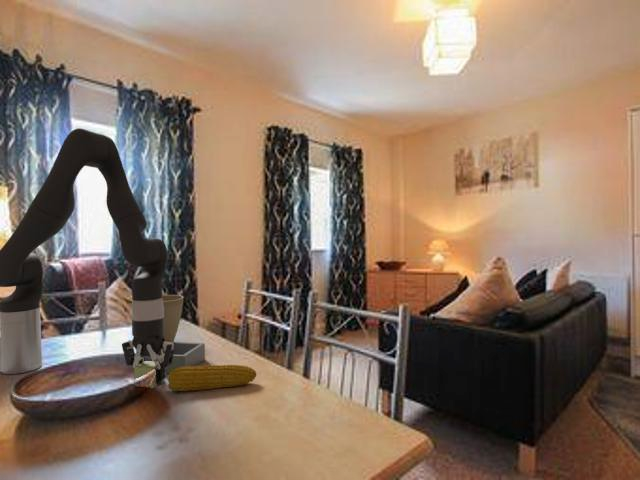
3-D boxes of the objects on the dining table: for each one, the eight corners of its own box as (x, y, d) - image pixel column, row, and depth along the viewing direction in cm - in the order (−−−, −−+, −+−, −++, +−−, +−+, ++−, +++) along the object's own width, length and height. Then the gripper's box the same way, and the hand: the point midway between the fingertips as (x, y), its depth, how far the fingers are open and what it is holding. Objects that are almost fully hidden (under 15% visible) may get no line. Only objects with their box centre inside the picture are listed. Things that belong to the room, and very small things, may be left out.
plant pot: (193, 341, 137) (192, 296, 137) (155, 353, 125) (154, 303, 124) (166, 335, 145) (165, 293, 145) (128, 346, 133) (127, 299, 132)
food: (167, 397, 93) (166, 372, 93) (170, 387, 98) (170, 364, 98) (257, 387, 98) (257, 363, 98) (255, 378, 103) (255, 356, 103)
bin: (144, 372, 109) (144, 354, 109) (168, 357, 121) (167, 341, 120) (185, 374, 107) (184, 356, 107) (204, 359, 119) (204, 343, 118)
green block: (134, 386, 99) (134, 367, 99) (146, 379, 104) (146, 360, 104) (153, 388, 98) (152, 368, 98) (164, 380, 103) (163, 361, 103)
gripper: (112, 319, 98) (114, 386, 98) (165, 320, 95) (167, 389, 96) (131, 312, 105) (133, 375, 106) (181, 313, 103) (183, 377, 103)
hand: (149, 381), depth 101 cm, fingers closed on green block, 5 cm apart
